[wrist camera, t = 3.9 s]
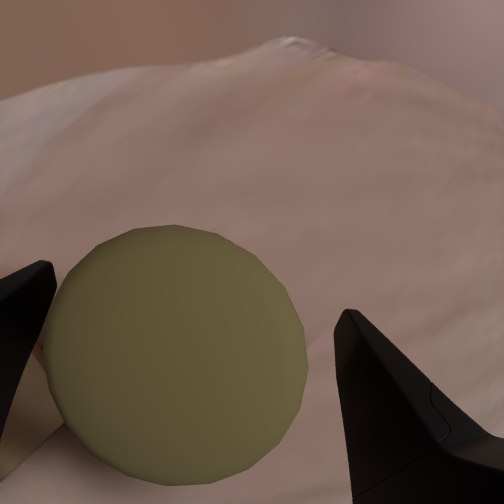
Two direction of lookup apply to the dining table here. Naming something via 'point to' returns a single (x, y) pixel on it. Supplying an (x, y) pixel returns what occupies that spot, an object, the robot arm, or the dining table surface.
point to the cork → (175, 355)
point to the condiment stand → (28, 416)
